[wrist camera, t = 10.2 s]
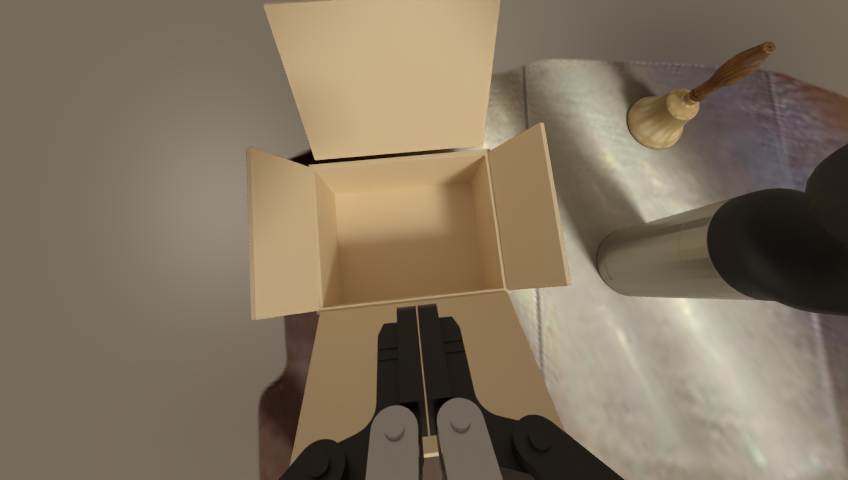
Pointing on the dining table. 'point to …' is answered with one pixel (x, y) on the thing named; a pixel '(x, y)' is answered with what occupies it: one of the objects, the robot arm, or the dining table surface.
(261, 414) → the dining table surface
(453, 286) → the carton
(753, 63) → the hand bell
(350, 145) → the front flap
